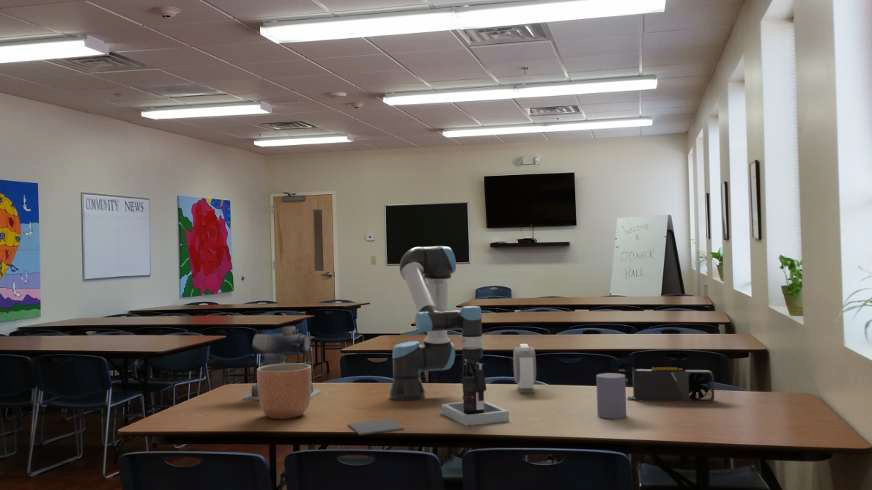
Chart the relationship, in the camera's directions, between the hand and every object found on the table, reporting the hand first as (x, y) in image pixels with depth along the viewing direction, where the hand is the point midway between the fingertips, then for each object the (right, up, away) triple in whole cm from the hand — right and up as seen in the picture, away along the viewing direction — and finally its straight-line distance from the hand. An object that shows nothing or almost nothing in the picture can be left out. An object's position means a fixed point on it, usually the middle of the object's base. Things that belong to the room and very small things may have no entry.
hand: (474, 406), depth 280 cm
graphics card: (+79, -2, +19) cm, 82 cm away
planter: (-73, -6, +11) cm, 74 cm away
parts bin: (0, -4, 0) cm, 4 cm away
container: (+50, -3, -5) cm, 51 cm away
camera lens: (0, -4, 0) cm, 4 cm away
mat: (-36, -5, -12) cm, 38 cm away
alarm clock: (+25, -4, +49) cm, 55 cm away
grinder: (-83, -7, +54) cm, 99 cm away
